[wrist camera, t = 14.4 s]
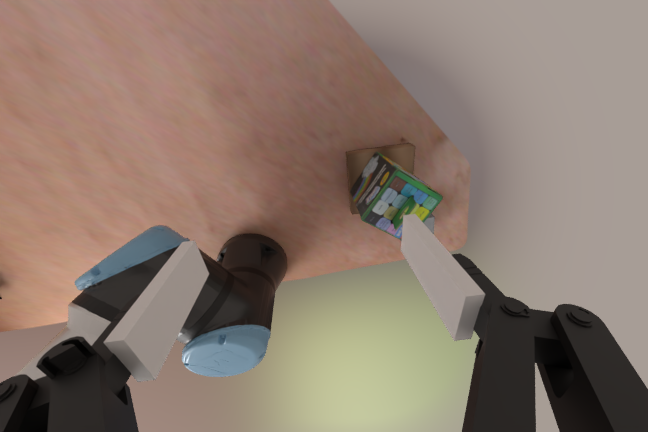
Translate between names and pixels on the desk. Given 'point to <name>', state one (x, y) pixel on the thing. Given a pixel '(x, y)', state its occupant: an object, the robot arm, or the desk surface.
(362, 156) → the block
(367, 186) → the chalk box
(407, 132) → the desk surface
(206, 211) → the desk surface
